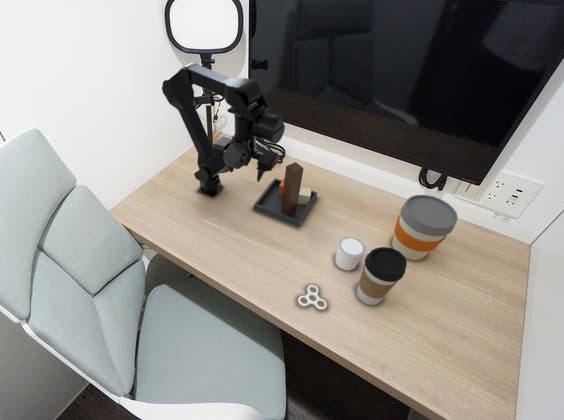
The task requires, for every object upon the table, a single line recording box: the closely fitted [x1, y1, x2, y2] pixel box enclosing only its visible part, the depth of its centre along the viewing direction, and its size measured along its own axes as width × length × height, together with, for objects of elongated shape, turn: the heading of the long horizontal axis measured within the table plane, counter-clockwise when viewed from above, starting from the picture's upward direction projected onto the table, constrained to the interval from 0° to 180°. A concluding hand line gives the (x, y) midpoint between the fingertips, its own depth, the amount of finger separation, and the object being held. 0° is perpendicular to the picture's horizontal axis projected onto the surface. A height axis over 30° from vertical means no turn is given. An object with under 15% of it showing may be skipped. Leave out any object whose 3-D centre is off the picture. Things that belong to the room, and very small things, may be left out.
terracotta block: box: [278, 178, 285, 196], centre depth 106 cm, size 4×4×4 cm
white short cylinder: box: [334, 236, 366, 271], centre depth 84 cm, size 7×7×7 cm
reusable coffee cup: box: [391, 194, 459, 261], centre depth 85 cm, size 13×13×15 cm
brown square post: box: [281, 161, 305, 217], centre depth 94 cm, size 4×4×18 cm
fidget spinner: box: [297, 284, 328, 311], centre depth 79 cm, size 7×6×1 cm
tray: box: [253, 177, 318, 228], centre depth 103 cm, size 16×16×3 cm
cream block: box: [298, 186, 313, 205], centre depth 103 cm, size 4×4×4 cm
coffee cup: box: [356, 246, 408, 306], centre depth 74 cm, size 8×8×15 cm
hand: (245, 176), depth 94 cm, fingers open, 9 cm apart
